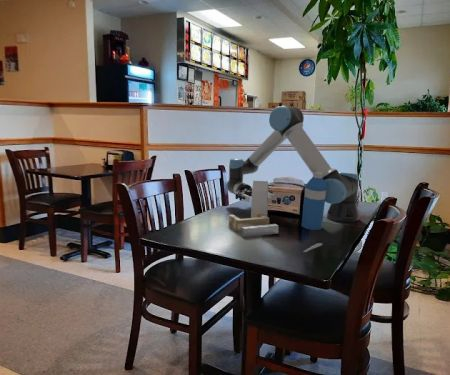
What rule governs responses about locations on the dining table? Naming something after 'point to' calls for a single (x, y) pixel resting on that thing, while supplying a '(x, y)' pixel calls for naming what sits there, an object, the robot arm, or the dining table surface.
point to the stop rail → (259, 230)
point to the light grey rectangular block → (259, 198)
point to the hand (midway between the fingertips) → (261, 198)
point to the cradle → (247, 221)
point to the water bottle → (314, 202)
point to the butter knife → (313, 247)
